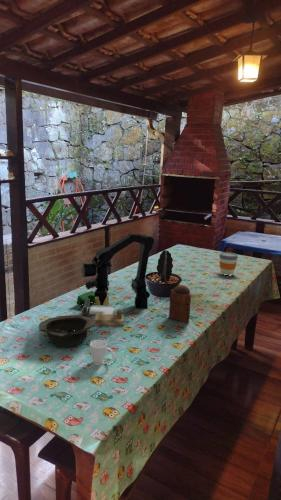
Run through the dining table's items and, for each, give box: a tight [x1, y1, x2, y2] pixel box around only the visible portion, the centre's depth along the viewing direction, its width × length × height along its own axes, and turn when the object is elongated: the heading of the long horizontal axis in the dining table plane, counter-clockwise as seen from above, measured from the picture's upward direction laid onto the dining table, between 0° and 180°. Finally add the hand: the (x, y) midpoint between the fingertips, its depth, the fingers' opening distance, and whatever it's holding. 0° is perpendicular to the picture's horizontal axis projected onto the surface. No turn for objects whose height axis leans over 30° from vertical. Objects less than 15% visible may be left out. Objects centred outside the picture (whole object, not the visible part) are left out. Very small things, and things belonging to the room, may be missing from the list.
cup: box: [89, 339, 115, 366], centre depth 142 cm, size 7×10×8 cm
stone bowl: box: [38, 314, 97, 349], centre depth 161 cm, size 25×25×9 cm
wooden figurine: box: [168, 284, 192, 323], centre depth 184 cm, size 12×6×18 cm, turn 61°
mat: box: [89, 306, 115, 314], centre depth 191 cm, size 12×9×1 cm
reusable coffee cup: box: [218, 251, 238, 275], centre depth 261 cm, size 13×13×15 cm
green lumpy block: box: [76, 290, 95, 306], centre depth 199 cm, size 12×6×9 cm, turn 138°
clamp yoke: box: [82, 299, 91, 317], centre depth 178 cm, size 2×11×9 cm, turn 1°
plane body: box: [79, 309, 125, 326], centre depth 178 cm, size 22×7×6 cm, turn 91°
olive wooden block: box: [94, 295, 110, 307], centre depth 189 cm, size 7×4×4 cm, turn 91°
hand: (102, 303), depth 190 cm, fingers closed on olive wooden block, 4 cm apart
